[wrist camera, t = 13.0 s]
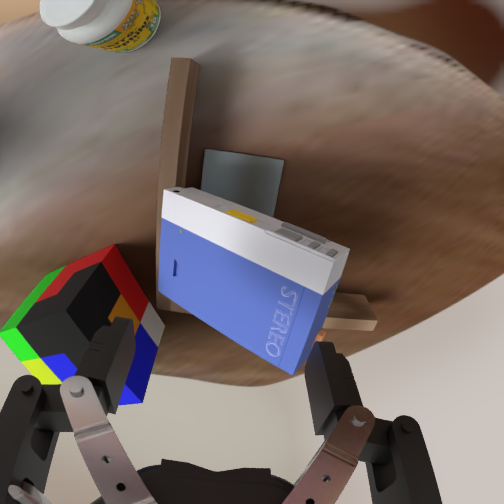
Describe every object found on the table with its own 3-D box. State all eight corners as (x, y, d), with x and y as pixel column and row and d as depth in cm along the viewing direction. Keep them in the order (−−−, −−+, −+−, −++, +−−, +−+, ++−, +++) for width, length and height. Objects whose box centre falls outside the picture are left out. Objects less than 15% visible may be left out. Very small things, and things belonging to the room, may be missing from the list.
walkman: (183, 279, 25) (317, 355, 19) (157, 290, 23) (297, 378, 17) (193, 182, 21) (358, 246, 16) (163, 187, 19) (342, 261, 14)
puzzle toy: (165, 325, 31) (142, 402, 22) (95, 342, 32) (65, 408, 23) (115, 243, 26) (65, 310, 18) (47, 273, 28) (-2, 333, 19)
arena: (166, 282, 28) (156, 308, 25) (184, 64, 20) (171, 57, 16) (360, 304, 30) (372, 330, 26) (419, 113, 21) (445, 118, 18)
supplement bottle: (141, -17, 16) (90, -63, 7) (175, 25, 18) (132, -14, 10) (89, 24, 17) (18, 3, 9) (119, 67, 19) (51, 57, 11)
